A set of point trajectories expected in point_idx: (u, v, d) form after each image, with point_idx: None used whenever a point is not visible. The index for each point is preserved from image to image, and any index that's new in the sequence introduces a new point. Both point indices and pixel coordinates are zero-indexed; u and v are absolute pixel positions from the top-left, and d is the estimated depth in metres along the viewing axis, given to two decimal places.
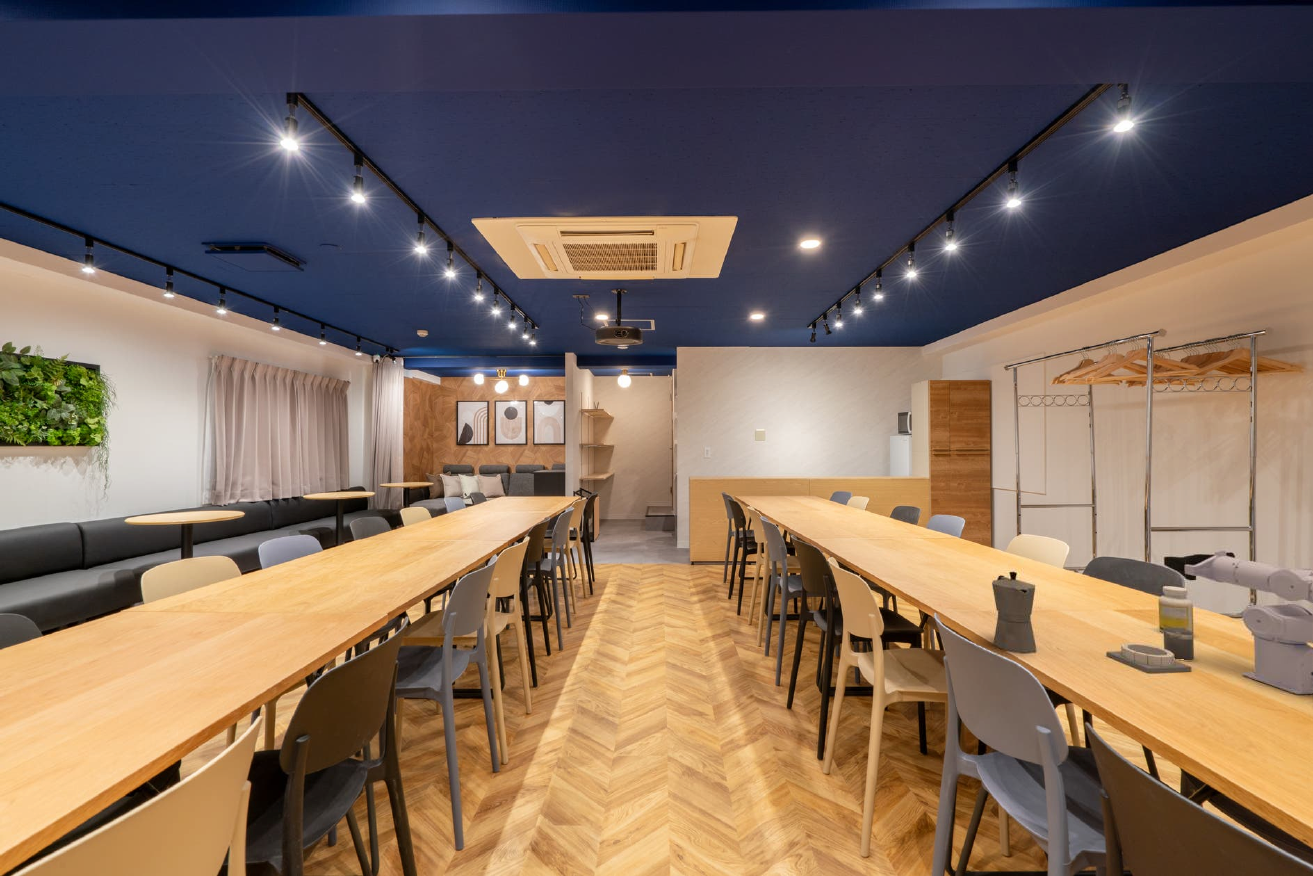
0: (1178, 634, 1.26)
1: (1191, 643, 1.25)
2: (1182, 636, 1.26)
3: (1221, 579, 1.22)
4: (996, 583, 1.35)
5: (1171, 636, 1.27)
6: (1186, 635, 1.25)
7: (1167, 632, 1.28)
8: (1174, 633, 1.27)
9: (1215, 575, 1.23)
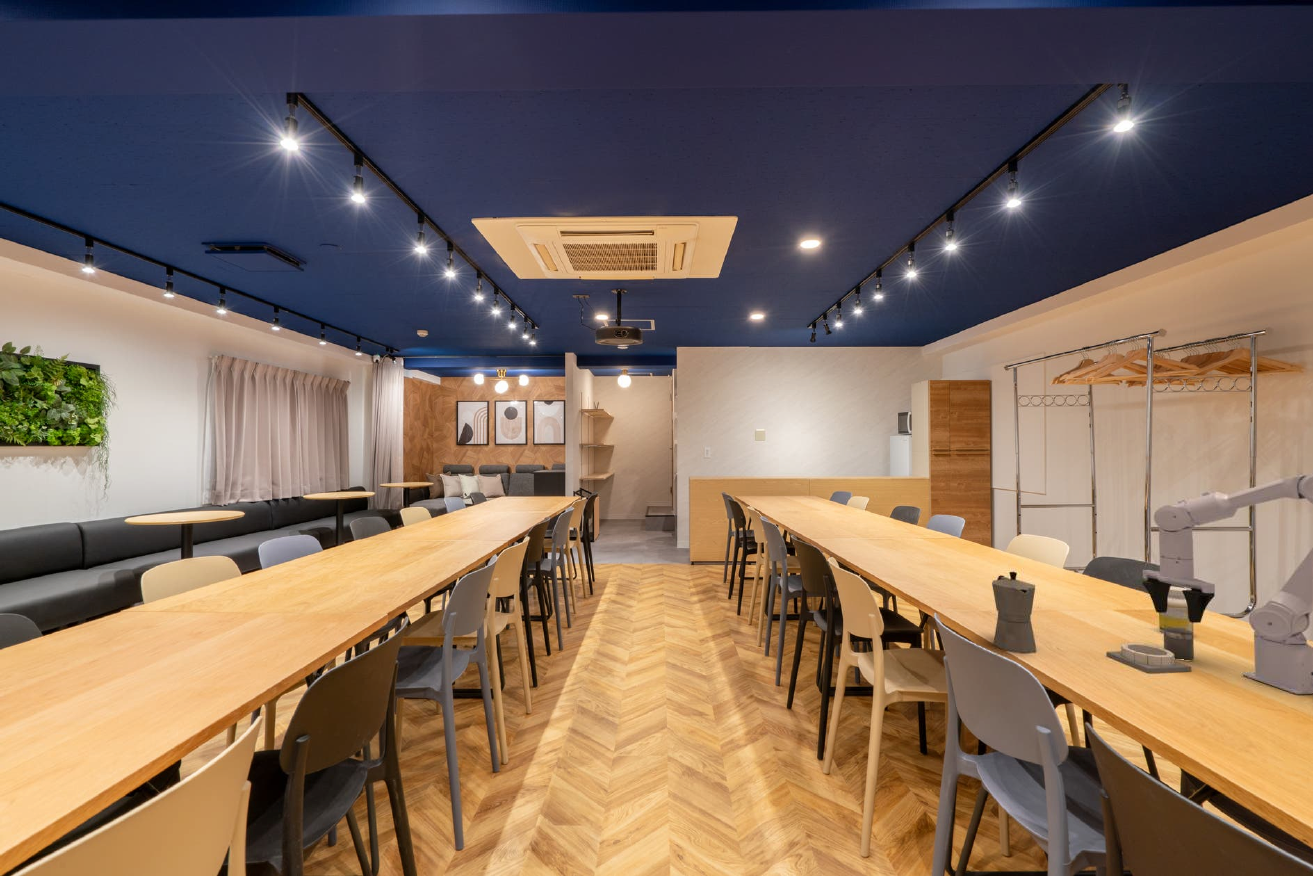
0: (1178, 634, 1.26)
1: (1191, 643, 1.25)
2: (1182, 636, 1.26)
3: (1193, 572, 1.26)
4: (996, 583, 1.35)
5: (1171, 636, 1.27)
6: (1186, 635, 1.25)
7: (1167, 632, 1.28)
8: (1174, 633, 1.27)
9: (1192, 576, 1.26)
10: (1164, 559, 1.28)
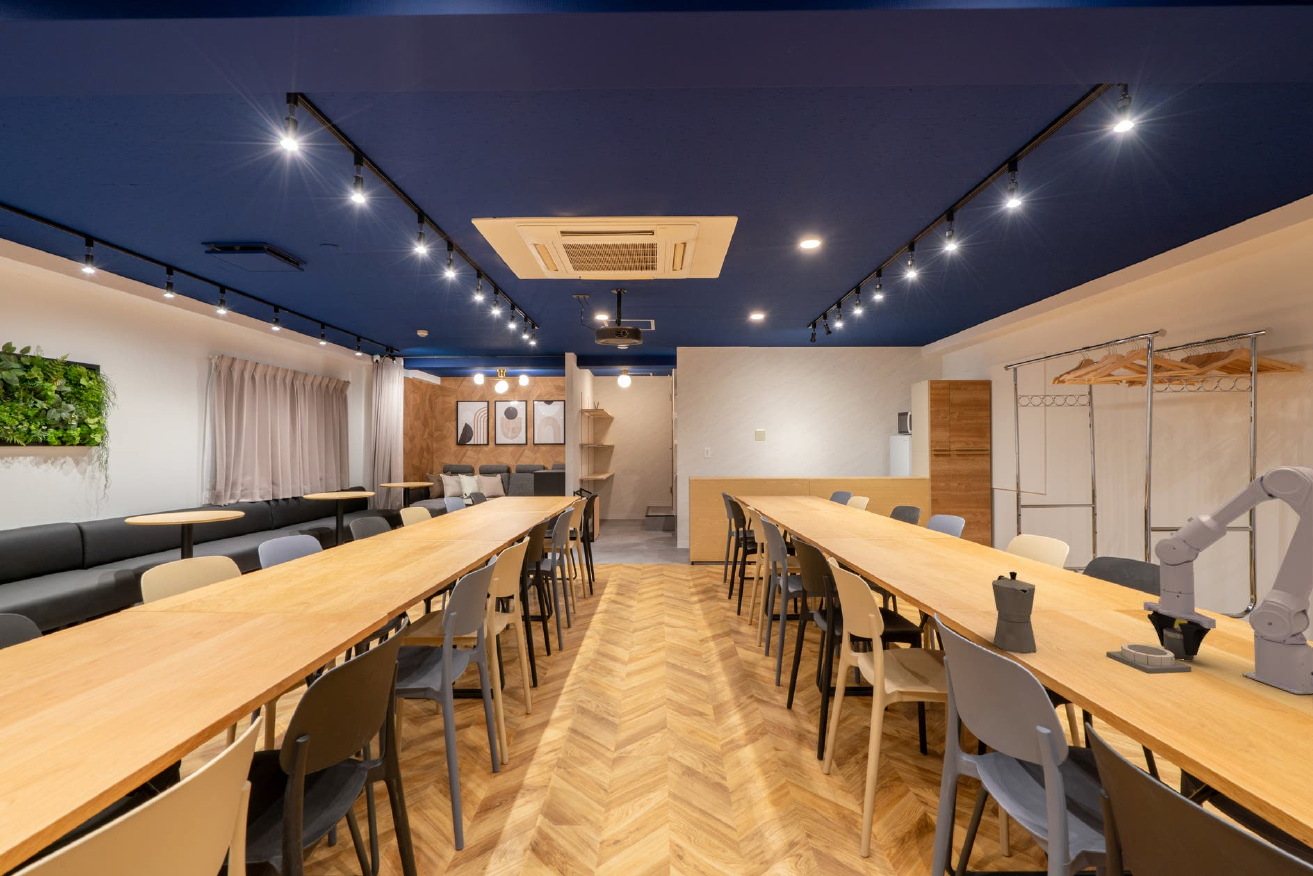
0: (1178, 634, 1.26)
1: None
2: (1182, 635, 1.26)
3: (1194, 606, 1.26)
4: (996, 583, 1.35)
5: (1171, 636, 1.27)
6: None
7: (1167, 632, 1.28)
8: (1174, 633, 1.27)
9: (1193, 610, 1.26)
10: (1165, 592, 1.28)
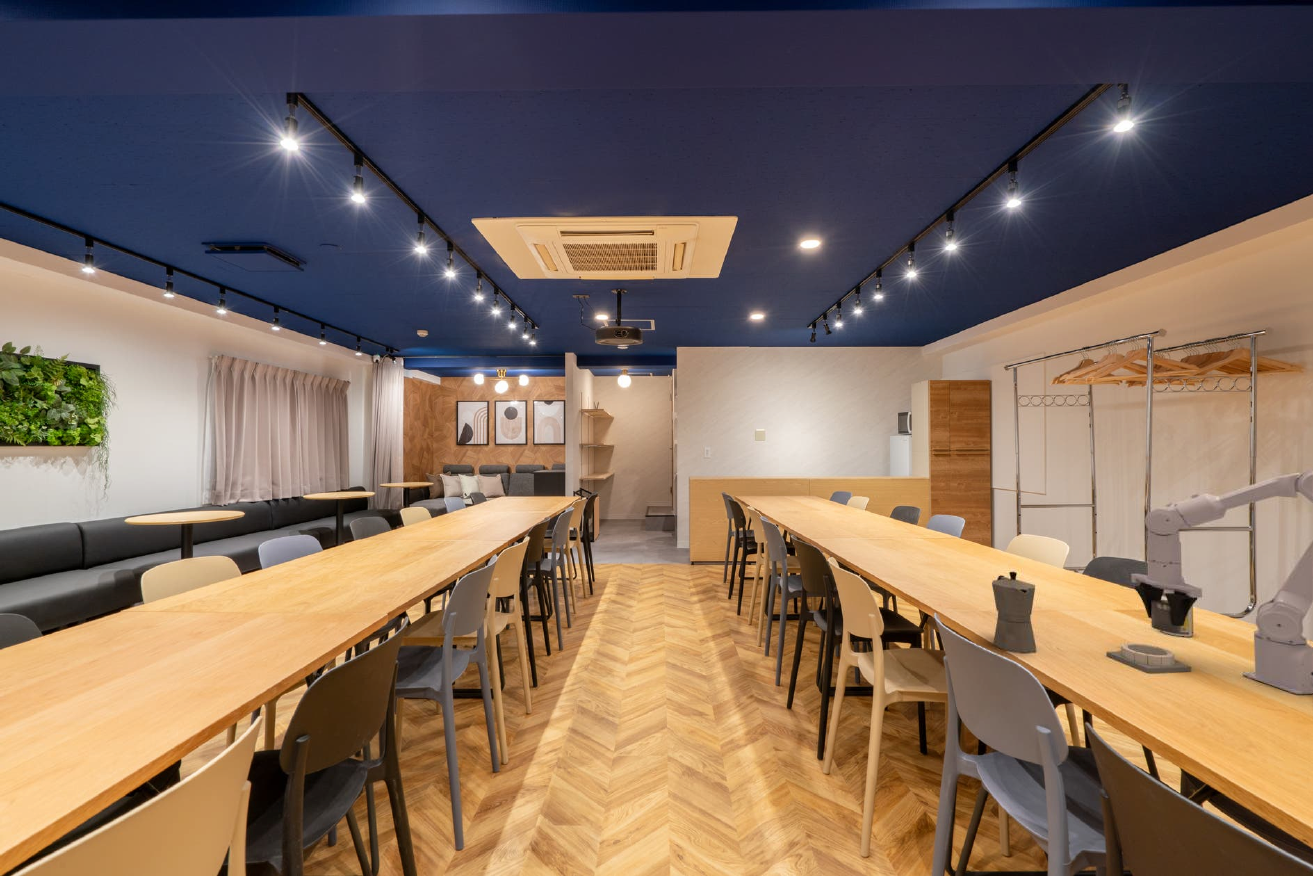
0: (1166, 605, 1.25)
1: None
2: None
3: (1181, 576, 1.25)
4: (996, 583, 1.35)
5: (1159, 607, 1.26)
6: None
7: (1155, 604, 1.27)
8: (1162, 604, 1.25)
9: (1180, 580, 1.24)
10: (1152, 563, 1.27)
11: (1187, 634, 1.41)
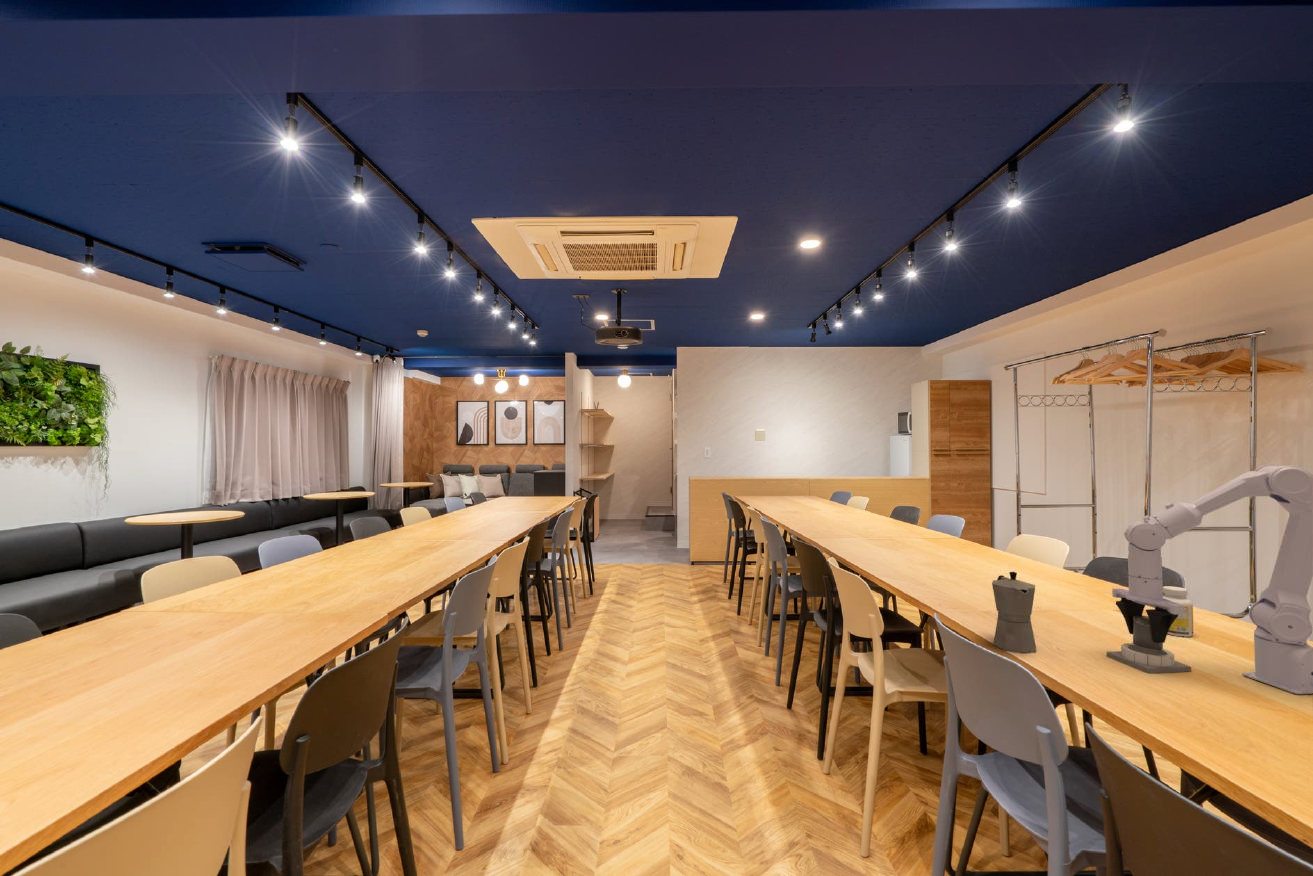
0: (1148, 621, 1.22)
1: None
2: None
3: (1162, 592, 1.22)
4: (996, 583, 1.35)
5: (1141, 624, 1.23)
6: None
7: (1137, 620, 1.24)
8: (1144, 621, 1.23)
9: (1161, 596, 1.22)
10: (1133, 578, 1.24)
11: (1187, 634, 1.41)
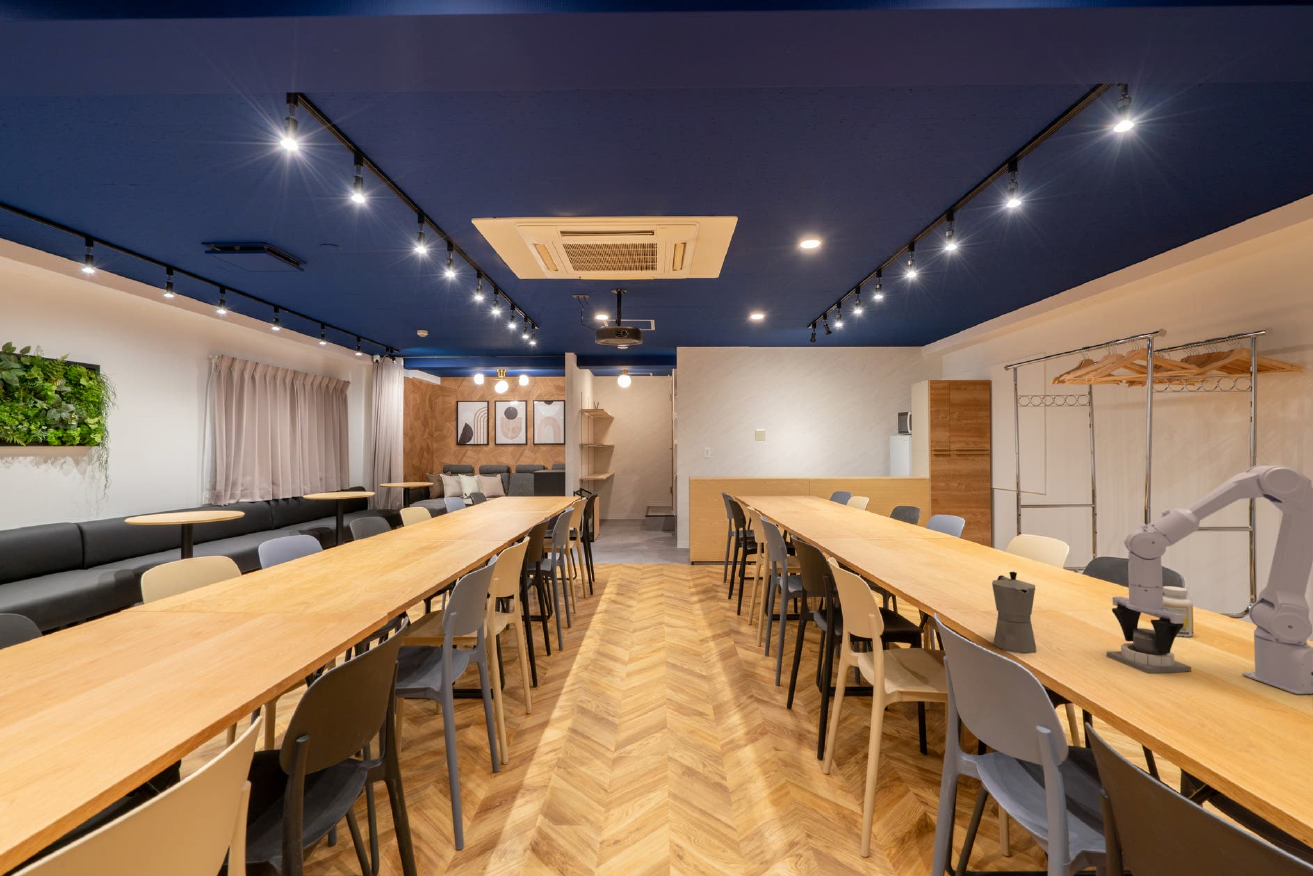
0: (1148, 635, 1.22)
1: None
2: (1152, 637, 1.22)
3: (1162, 601, 1.22)
4: (996, 583, 1.35)
5: (1141, 637, 1.23)
6: None
7: (1136, 633, 1.24)
8: (1144, 634, 1.23)
9: (1161, 605, 1.22)
10: (1133, 587, 1.24)
11: (1187, 634, 1.41)
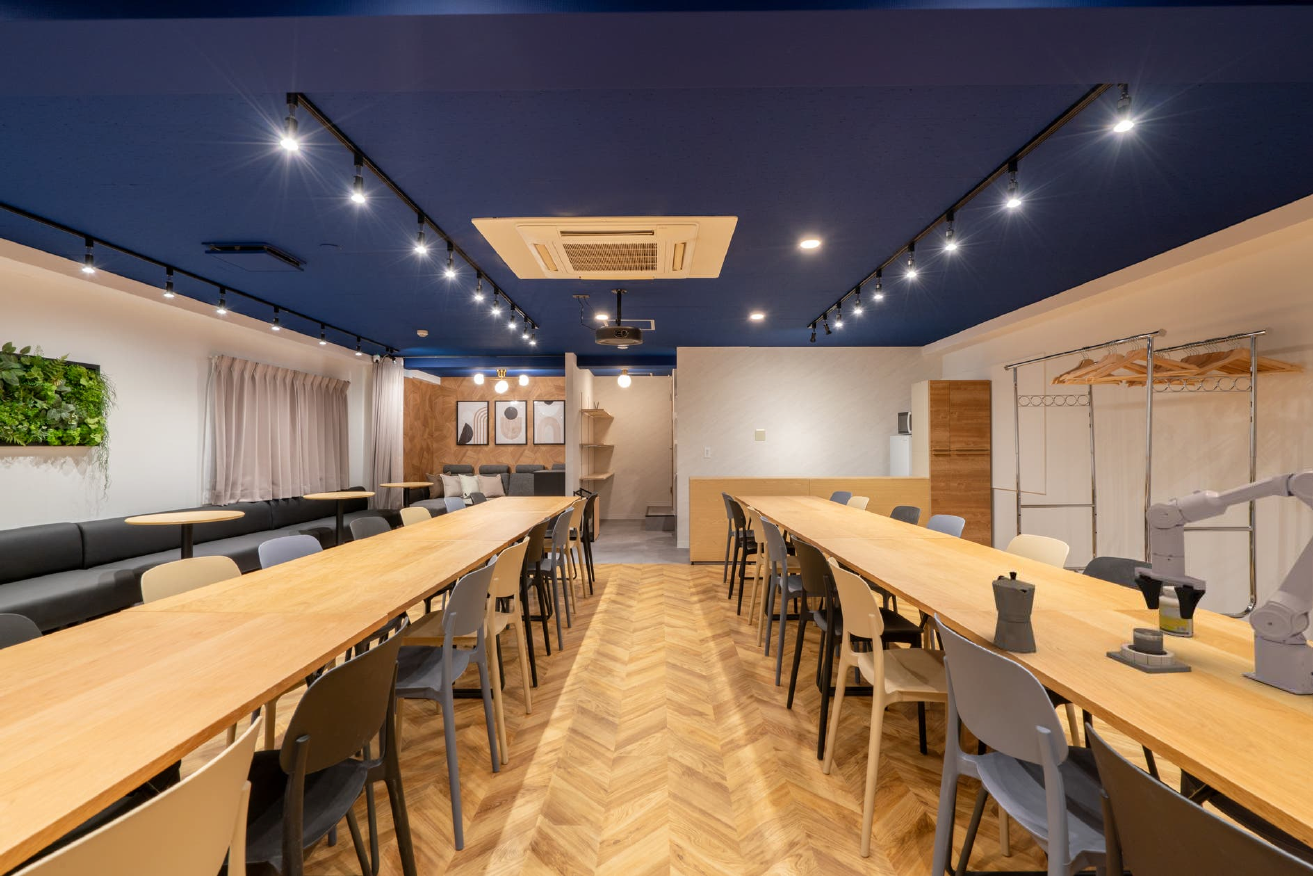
0: (1148, 635, 1.22)
1: (1161, 644, 1.22)
2: (1152, 637, 1.22)
3: (1184, 569, 1.28)
4: (996, 583, 1.35)
5: (1141, 637, 1.23)
6: (1156, 636, 1.22)
7: (1137, 633, 1.24)
8: (1144, 634, 1.23)
9: (1184, 573, 1.27)
10: (1156, 556, 1.29)
11: (1187, 634, 1.41)
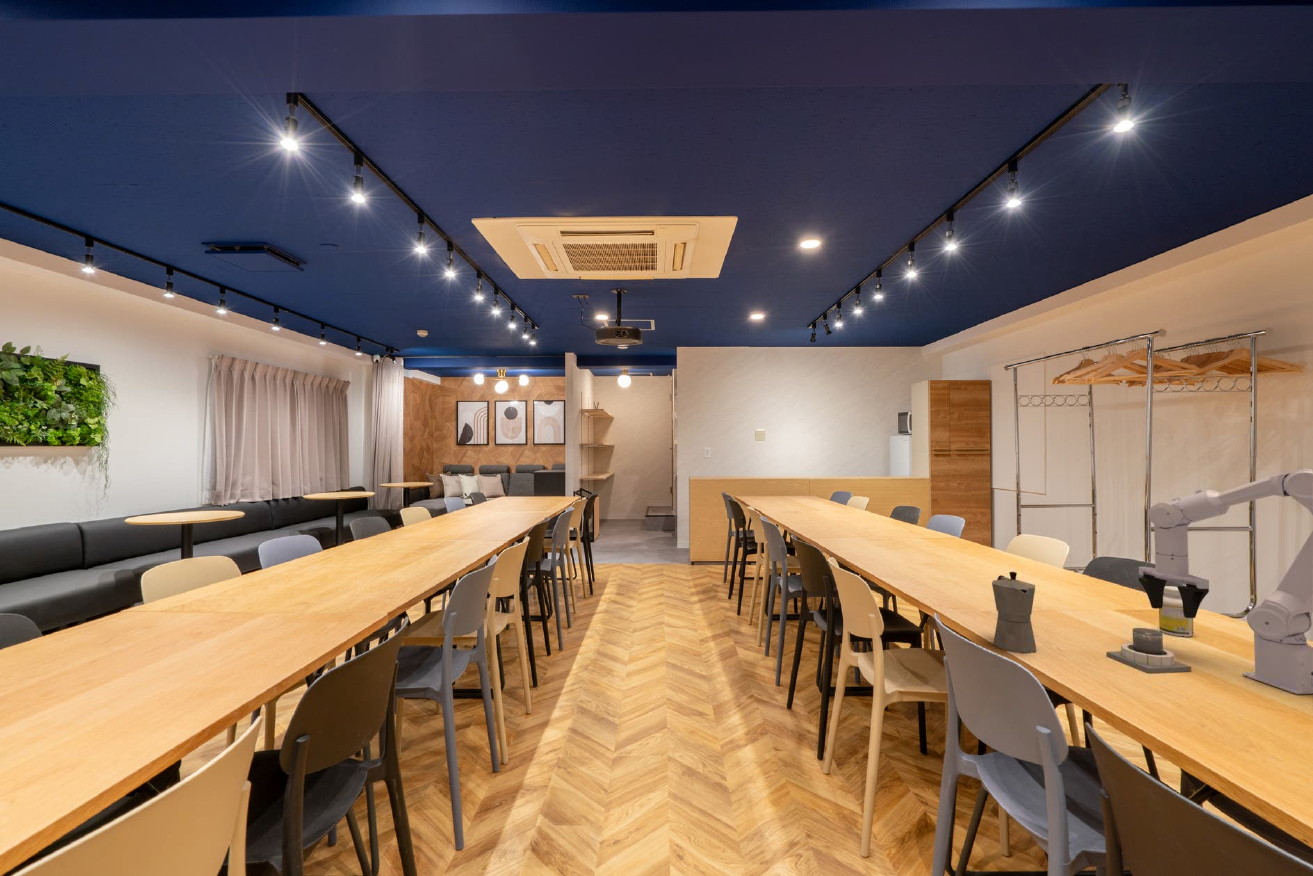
0: (1148, 635, 1.22)
1: (1161, 644, 1.22)
2: (1152, 637, 1.22)
3: (1188, 568, 1.28)
4: (996, 583, 1.35)
5: (1141, 638, 1.23)
6: (1156, 636, 1.21)
7: (1137, 634, 1.24)
8: (1144, 635, 1.22)
9: (1187, 572, 1.28)
10: (1159, 556, 1.30)
11: (1187, 634, 1.41)
